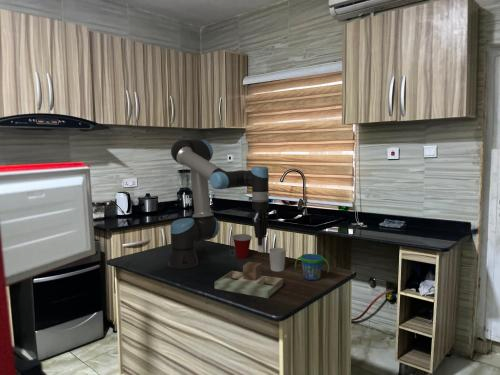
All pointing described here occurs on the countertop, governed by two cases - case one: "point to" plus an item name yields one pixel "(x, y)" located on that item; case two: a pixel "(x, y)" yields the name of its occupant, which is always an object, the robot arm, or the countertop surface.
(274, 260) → the white cup
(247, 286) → the frame
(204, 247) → the countertop surface
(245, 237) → the plastic cup
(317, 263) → the snack cup
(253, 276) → the walnut block
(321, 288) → the countertop surface
